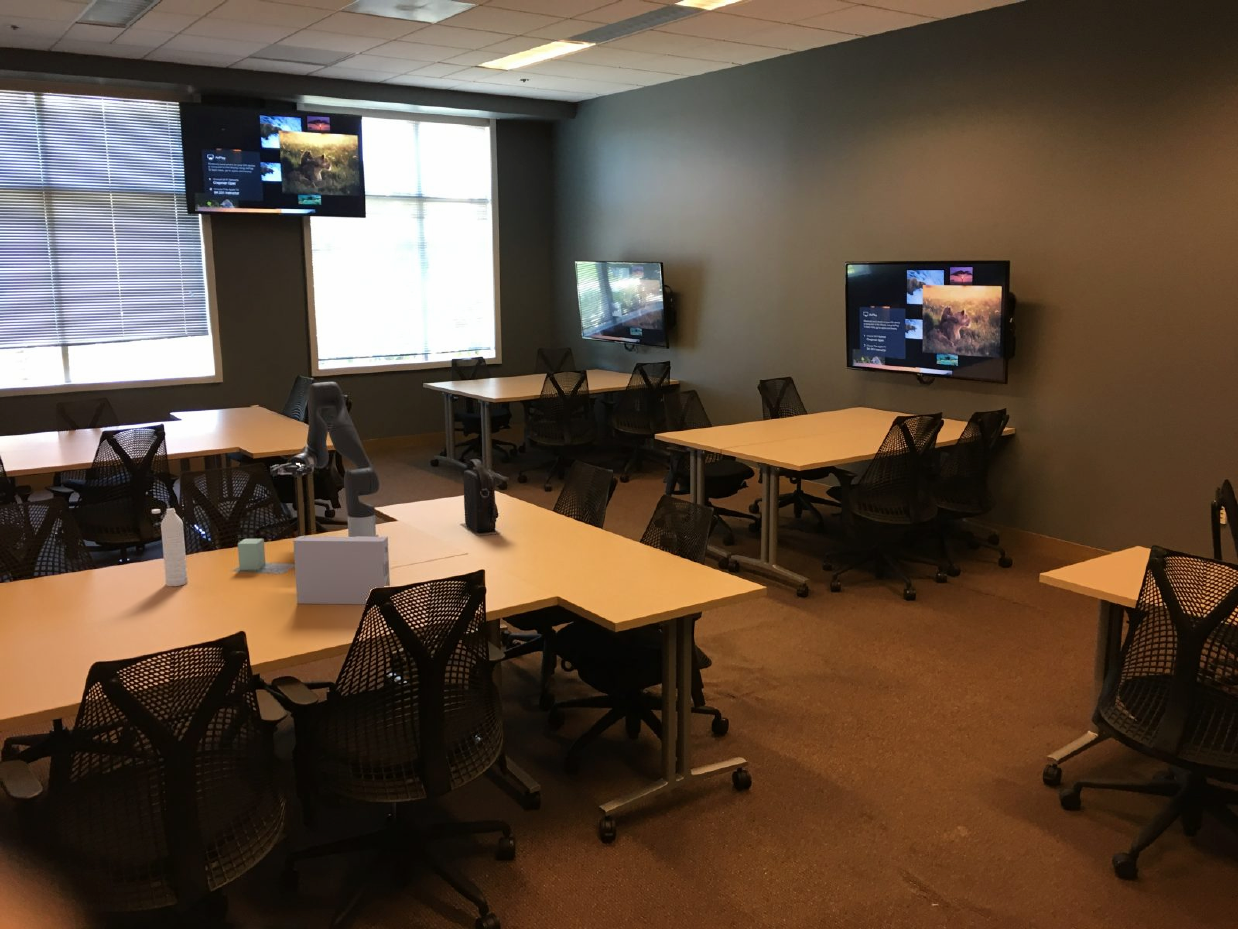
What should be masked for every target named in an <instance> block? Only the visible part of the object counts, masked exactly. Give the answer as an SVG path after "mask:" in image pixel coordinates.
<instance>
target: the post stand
mask: <svg viewBox="0 0 1238 929" xmlns="http://www.w3.org/2000/svg"><path fill="white" fill-rule="evenodd" d="M292 568H295V563H294V564H293V563H277V562H276V563H275V562H274V563H273V562H265V565H264V566H263V567H261V568H260V569H259V570H240V569H239V566H238V567H237V568H235V569H232V570H231V572H239V573H240V572H241V573H243V572H244V573H258V574H276V575H282V574H283V573H285V572H288V571H289V570H291V569H292Z"/></svg>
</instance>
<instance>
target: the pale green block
mask: <svg viewBox="0 0 1238 929" xmlns="http://www.w3.org/2000/svg"><path fill="white" fill-rule="evenodd" d="M265 549H266V548H265V539H264V538H244V539H242V540H241V541H240V542H238V543H237V552H238V567H239V569H240V570H259V569H260V568H261V567H263V566H264V565H265V563H266V550H265Z"/></svg>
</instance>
